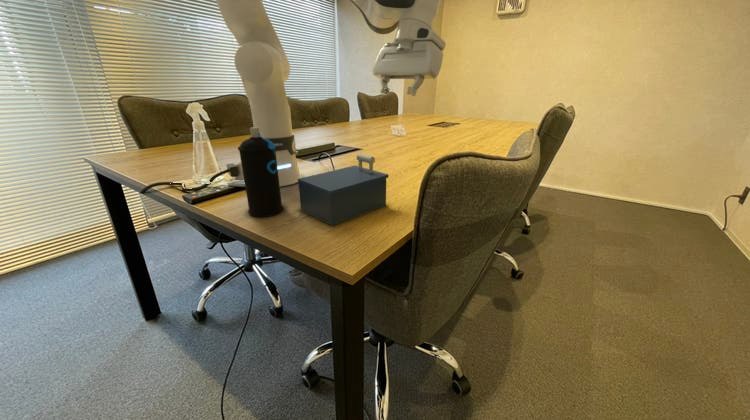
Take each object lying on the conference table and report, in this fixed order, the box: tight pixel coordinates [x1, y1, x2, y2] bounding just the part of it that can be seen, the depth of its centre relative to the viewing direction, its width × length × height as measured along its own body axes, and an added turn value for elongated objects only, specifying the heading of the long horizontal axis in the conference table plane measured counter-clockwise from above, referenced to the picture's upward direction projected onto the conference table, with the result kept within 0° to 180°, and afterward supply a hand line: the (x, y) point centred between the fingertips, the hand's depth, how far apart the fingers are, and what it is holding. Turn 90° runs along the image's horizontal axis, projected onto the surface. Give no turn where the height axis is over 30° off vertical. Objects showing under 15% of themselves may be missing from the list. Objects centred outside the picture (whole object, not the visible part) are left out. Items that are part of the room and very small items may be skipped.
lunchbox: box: [297, 178, 387, 227], centre depth 76 cm, size 18×13×7 cm
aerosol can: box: [237, 126, 284, 218], centre depth 71 cm, size 8×8×20 cm
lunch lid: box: [297, 153, 390, 195], centre depth 73 cm, size 18×13×5 cm
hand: (396, 94), depth 79 cm, fingers open, 8 cm apart
